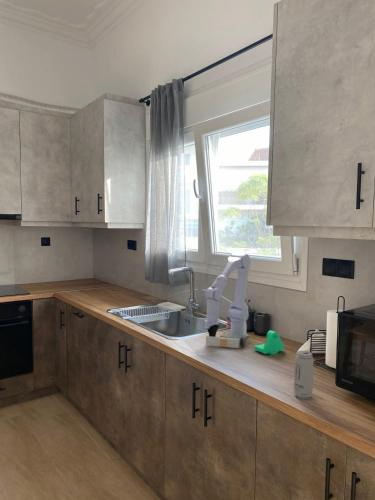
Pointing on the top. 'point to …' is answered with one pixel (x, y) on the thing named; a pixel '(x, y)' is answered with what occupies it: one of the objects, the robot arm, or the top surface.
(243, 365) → the top surface
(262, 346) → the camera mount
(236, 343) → the door
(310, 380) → the energy drink can
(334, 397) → the top surface
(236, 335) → the block
